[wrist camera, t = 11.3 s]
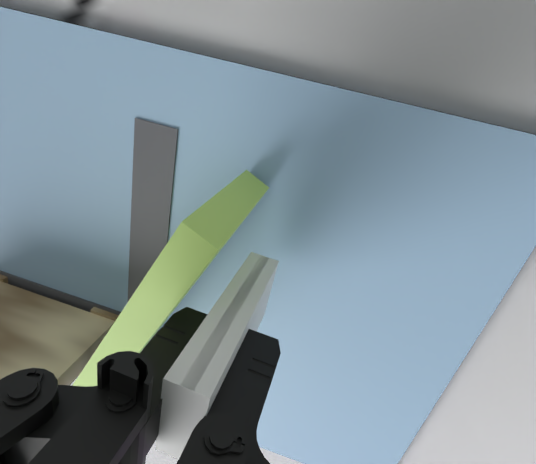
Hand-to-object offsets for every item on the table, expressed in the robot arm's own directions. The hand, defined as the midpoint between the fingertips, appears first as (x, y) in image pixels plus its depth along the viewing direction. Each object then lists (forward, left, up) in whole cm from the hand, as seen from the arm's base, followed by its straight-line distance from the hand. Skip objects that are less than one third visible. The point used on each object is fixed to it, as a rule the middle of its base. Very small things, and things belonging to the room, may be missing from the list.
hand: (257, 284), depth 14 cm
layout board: (-4, -3, -3) cm, 6 cm away
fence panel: (-3, -1, -2) cm, 4 cm away
